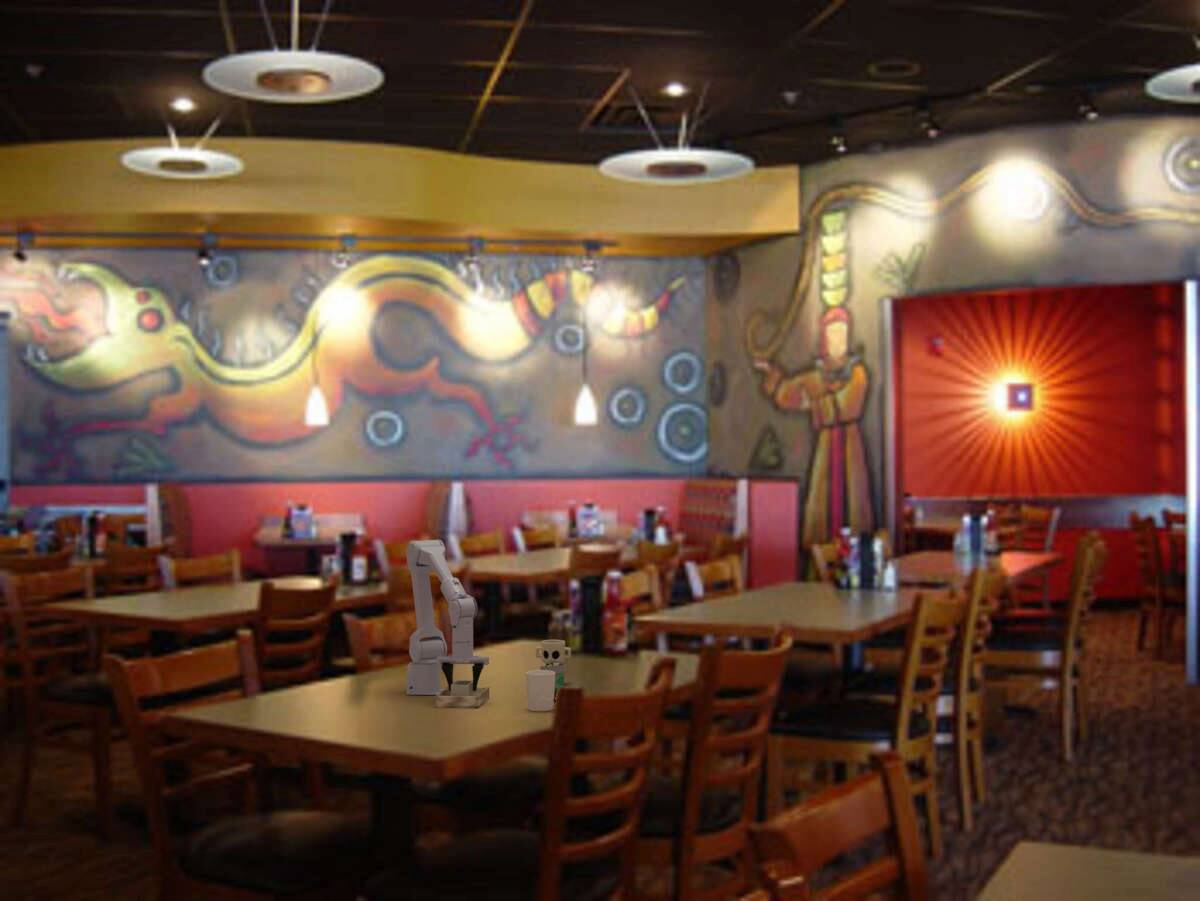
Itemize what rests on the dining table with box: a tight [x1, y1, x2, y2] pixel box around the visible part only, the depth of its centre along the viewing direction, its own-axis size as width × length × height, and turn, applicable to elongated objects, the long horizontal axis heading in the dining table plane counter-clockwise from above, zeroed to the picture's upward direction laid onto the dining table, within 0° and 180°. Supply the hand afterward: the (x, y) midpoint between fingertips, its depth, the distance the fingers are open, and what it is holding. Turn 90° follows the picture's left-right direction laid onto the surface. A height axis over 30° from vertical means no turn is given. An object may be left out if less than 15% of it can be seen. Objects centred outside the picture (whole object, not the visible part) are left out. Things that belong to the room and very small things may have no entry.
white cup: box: [525, 669, 555, 712], centre depth 378 cm, size 8×8×10 cm
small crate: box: [451, 679, 474, 697], centre depth 388 cm, size 5×8×5 cm, turn 174°
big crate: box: [434, 686, 490, 709], centre depth 388 cm, size 12×16×3 cm
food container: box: [539, 660, 568, 702], centre depth 393 cm, size 12×6×10 cm, turn 168°
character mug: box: [535, 639, 572, 666], centre depth 418 cm, size 11×7×13 cm, turn 76°
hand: (462, 690), depth 388 cm, fingers open, 6 cm apart
